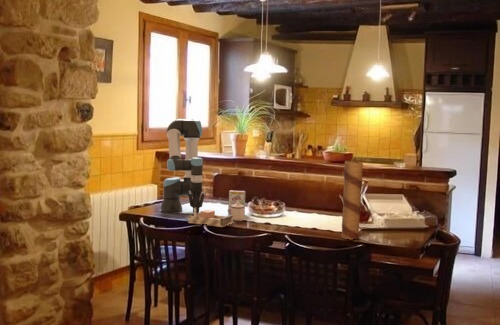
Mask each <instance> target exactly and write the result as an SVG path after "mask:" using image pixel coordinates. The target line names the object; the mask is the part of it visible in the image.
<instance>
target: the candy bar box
mask: <svg viewBox="0 0 500 325" xmlns="http://www.w3.org/2000/svg"><path fill="white" fill-rule="evenodd" d="M236 202H239V204H241V205H244V215H245V214H246V213H245V212H246V211H245V210H246V190H232V189H231V190H229V191H228V206H227V207H228V208H231V205H234V204H236ZM228 208H227V209H228ZM229 212H230V214H231V209H229ZM227 216H229V214H228V215H227Z"/></svg>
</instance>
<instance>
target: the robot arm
mask: <svg viewBox="0 0 500 325" xmlns="http://www.w3.org/2000/svg"><path fill="white" fill-rule="evenodd" d="M202 127H203V126H202V122H201V121H200V120H199V119H193V118H192V119H191V118H190V119H189V118H188V119H187V118H184V119H183V118H178V119H174V120H173V121H172V122H170V124H169V125H168V127H167V128H166V137H167V138H168V151H169V152H168V153H169V158H168V159H167V161H166V170H167V171H173V172H175V171H176V172H178V171H179V172H180V171H183V172H184V171H185V172H184V173H185V174H184V176H183V177H182V179H181V177H179V176H178V177H177V176H175V177H169V178H168V177H167V178H165V179H164V180H163V185H162V186H163V196H162V197H163V198H162V199H163V200H162V203H161V206H160V211H161V212H162V211H163V213H180V212H182V211H183V206H182V202H181V197H188V200H189V201H188V202H189V206H190V207H192V213H193V216H198V213H200V208H202V207H203V204H204V199H205V196H206V195H207V194H206V192H204V191H203V171H204V170H203V168H204V167H203V165H204V162H203V161H204V159H203V157H198V156H199V155H198V154H199V153H198V151H199V144H198V143H199V142H198V141H199V140H200V139H201V137H202V136H203V128H202ZM181 136H183V139H184V141H185V159H184V158H183V159H182V152H181V142H180V141H181V140H180V137H181Z"/></svg>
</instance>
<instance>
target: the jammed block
mask: <svg viewBox="0 0 500 325" xmlns="http://www.w3.org/2000/svg"><path fill="white" fill-rule="evenodd" d="M199 213H200V217H206V218H214V219H215V215H216V214H215V213H216V211H215V210H210V209H204V210H201V211H199Z"/></svg>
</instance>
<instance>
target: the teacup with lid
mask: <svg viewBox="0 0 500 325" xmlns="http://www.w3.org/2000/svg"><path fill="white" fill-rule="evenodd" d="M229 209H231V214H230V212H229ZM227 213H228V214H229V215H233V221H236V222H237V221H244V220H245V214H244V205H241V204H239V202H236V204H234V205H231V208H227ZM229 215H228V216H229Z"/></svg>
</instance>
